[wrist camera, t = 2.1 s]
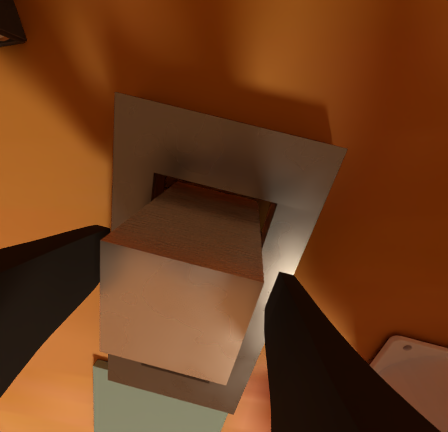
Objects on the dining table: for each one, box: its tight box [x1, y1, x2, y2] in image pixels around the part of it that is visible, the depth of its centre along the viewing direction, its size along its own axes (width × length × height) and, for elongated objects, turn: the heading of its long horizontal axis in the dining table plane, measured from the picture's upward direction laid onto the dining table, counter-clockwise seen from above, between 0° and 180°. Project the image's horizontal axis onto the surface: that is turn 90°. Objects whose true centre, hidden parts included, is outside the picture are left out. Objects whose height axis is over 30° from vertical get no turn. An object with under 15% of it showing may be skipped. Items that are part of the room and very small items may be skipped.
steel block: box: [100, 181, 264, 385], centre depth 10 cm, size 5×5×7 cm
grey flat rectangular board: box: [108, 92, 347, 415], centre depth 14 cm, size 10×20×2 cm, turn 167°
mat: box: [93, 359, 228, 432], centre depth 21 cm, size 12×12×1 cm
